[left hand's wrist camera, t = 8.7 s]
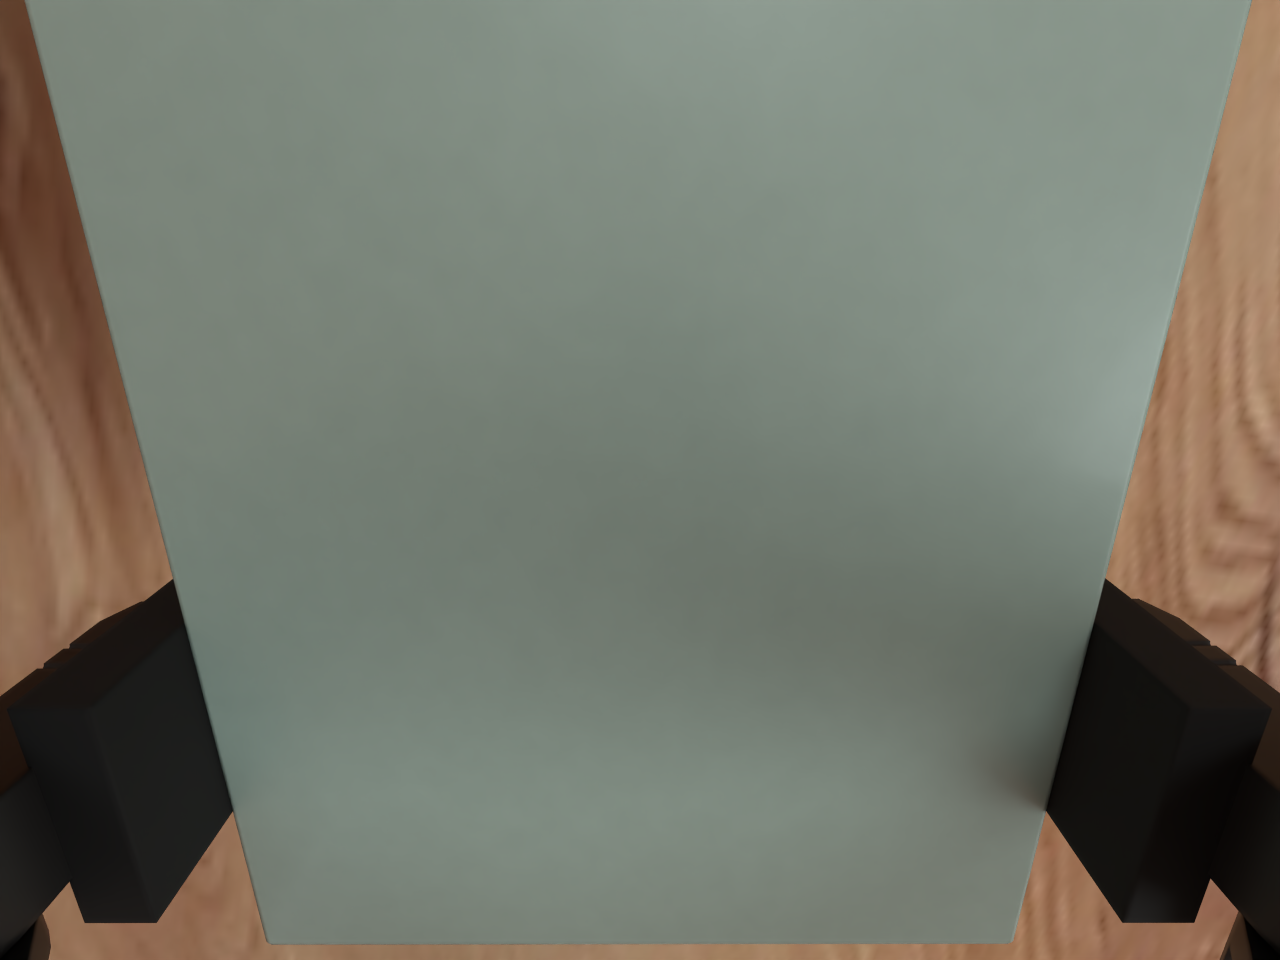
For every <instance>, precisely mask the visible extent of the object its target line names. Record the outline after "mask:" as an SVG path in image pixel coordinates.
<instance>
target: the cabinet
mask: <svg viewBox="0 0 1280 960" xmlns="http://www.w3.org/2000/svg"><path fill="white" fill-rule="evenodd" d="M1251 2H1252V0H25V4H26V8H27V12H28V16H29V20H30V24H31V27H32V31H33V35H34V39H35V43H36V47H37V51H38V55H39V59H40V62H41V66H42V70H43V74H44V78H45V82H46V86H47V90H48V94H49V97H50V101H51V105H52V109H53V113H54V117H55V121H56V125H57V129H58V132H59V136H60V140H61V144H62V148H63V152H64V156H65V160H66V164H67V167H68V171H69V175H70V179H71V183H72V187H73V191H74V195H75V199H76V202H77V206H78V210H79V214H80V218H81V222H82V226H83V230H84V234H85V237H86V241H87V245H88V249H89V253H90V257H91V261H92V265H93V269H94V272H95V276H96V280H97V284H98V288H99V292H100V296H101V300H102V304H103V307H104V311H105V315H106V319H107V323H108V327H109V331H110V335H111V339H112V342H113V346H114V350H115V354H116V358H117V362H118V366H119V370H120V374H121V377H122V381H123V385H124V389H125V393H126V397H127V401H128V405H129V409H130V412H131V416H132V420H133V424H134V428H135V432H136V436H137V440H138V444H139V447H140V451H141V455H142V459H143V463H144V467H145V471H146V475H147V479H148V482H149V486H150V490H151V494H152V498H153V502H154V506H155V510H156V514H157V517H158V521H159V525H160V529H161V533H162V537H163V541H164V545H165V549H166V552H167V556H168V560H169V564H170V568H171V572H172V576H173V580H174V584H175V587H176V591H177V595H178V599H179V603H180V607H181V611H182V615H183V619H184V622H185V626H186V630H187V634H188V638H189V642H190V646H191V650H192V654H193V657H194V661H195V665H196V669H197V673H198V677H199V681H200V685H201V689H202V692H203V696H204V700H205V704H206V708H207V712H208V716H209V720H210V724H211V727H212V731H213V735H214V739H215V743H216V747H217V751H218V755H219V759H220V762H221V766H222V770H223V774H224V778H225V782H226V786H227V790H228V794H229V797H230V801H231V805H232V809H233V813H234V817H235V821H236V825H237V829H238V832H239V836H240V840H241V844H242V848H243V852H244V856H245V860H246V864H247V867H248V871H249V875H250V879H251V883H252V887H253V891H254V895H255V899H256V902H257V906H258V910H259V914H260V918H261V922H262V926H263V930H264V934H265V938H266V941H267V942H268V943H269V944H272V945H301V944H1008V943H1011V942H1012V941H1013V939H1014V935H1015V931H1016V927H1017V923H1018V919H1019V915H1020V911H1021V907H1022V903H1023V899H1024V895H1025V891H1026V888H1027V884H1028V880H1029V876H1030V872H1031V868H1032V864H1033V860H1034V856H1035V852H1036V848H1037V844H1038V840H1039V836H1040V832H1041V828H1042V825H1043V821H1044V817H1045V813H1046V809H1047V805H1048V801H1049V797H1050V793H1051V789H1052V785H1053V781H1054V777H1055V773H1056V769H1057V765H1058V762H1059V758H1060V754H1061V750H1062V746H1063V742H1064V738H1065V734H1066V730H1067V726H1068V722H1069V718H1070V714H1071V710H1072V706H1073V702H1074V699H1075V695H1076V691H1077V687H1078V683H1079V679H1080V675H1081V671H1082V667H1083V663H1084V659H1085V655H1086V651H1087V647H1088V643H1089V639H1090V636H1091V632H1092V628H1093V624H1094V620H1095V616H1096V612H1097V608H1098V604H1099V600H1100V596H1101V592H1102V588H1103V584H1104V580H1105V576H1106V573H1107V569H1108V565H1109V561H1110V557H1111V553H1112V549H1113V545H1114V541H1115V537H1116V533H1117V529H1118V525H1119V521H1120V517H1121V513H1122V510H1123V506H1124V502H1125V498H1126V494H1127V490H1128V486H1129V482H1130V478H1131V474H1132V470H1133V466H1134V462H1135V458H1136V454H1137V450H1138V447H1139V443H1140V439H1141V435H1142V431H1143V427H1144V423H1145V419H1146V415H1147V411H1148V407H1149V403H1150V399H1151V395H1152V391H1153V387H1154V384H1155V380H1156V376H1157V372H1158V368H1159V364H1160V360H1161V356H1162V352H1163V348H1164V344H1165V340H1166V336H1167V332H1168V328H1169V324H1170V321H1171V317H1172V313H1173V309H1174V305H1175V301H1176V297H1177V293H1178V289H1179V285H1180V281H1181V277H1182V273H1183V269H1184V265H1185V261H1186V258H1187V254H1188V250H1189V246H1190V242H1191V238H1192V234H1193V230H1194V226H1195V222H1196V218H1197V214H1198V210H1199V206H1200V202H1201V198H1202V195H1203V191H1204V187H1205V183H1206V179H1207V175H1208V171H1209V167H1210V163H1211V159H1212V155H1213V151H1214V147H1215V143H1216V139H1217V135H1218V132H1219V128H1220V124H1221V120H1222V116H1223V112H1224V108H1225V104H1226V100H1227V96H1228V92H1229V88H1230V84H1231V80H1232V76H1233V72H1234V69H1235V65H1236V61H1237V57H1238V53H1239V49H1240V45H1241V41H1242V37H1243V33H1244V29H1245V25H1246V21H1247V17H1248V13H1249V9H1250V6H1251Z"/></svg>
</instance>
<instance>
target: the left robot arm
mask: <svg viewBox="0 0 1280 960" xmlns="http://www.w3.org/2000/svg"><path fill="white" fill-rule="evenodd" d="M1046 811H1047V813H1048V814H1049V816H1050V817H1051V819H1052V820H1053V822H1054V823H1055V824H1056V826H1057V827H1058V829H1059V830H1060V832H1061V833H1062V835H1063V836H1064V838H1065V839H1066V841H1067V842H1068V844H1069V845H1070V846H1071V848H1072V849H1073V851H1074V852H1075V854H1076V855H1077V857H1078V858H1079V860H1080V861H1081V863H1082V864H1083V866H1084V867H1085V868H1086V870H1087V871H1088V873H1089V874H1090V876H1091V877H1092V879H1093V880H1094V882H1095V883H1096V885H1097V886H1098V888H1099V889H1100V890H1101V892H1102V893H1103V895H1104V896H1105V898H1106V899H1107V901H1108V902H1109V904H1110V905H1111V907H1112V908H1113V910H1114V911H1115V912H1116V914H1117V915H1118V917H1119V918H1120V920H1121V921H1122V923H1194V922H1195V919H1196V916H1197V914H1198V911H1199V908H1200V905H1201V903H1202V900H1203V897H1204V895H1205V892H1206V889H1207V886H1208V884H1209V881H1210V878H1211V879H1212V880H1213V882H1214V883H1215V884H1216V885H1217V886H1218V887H1219V889H1220V890H1221V891H1222V892H1223V893H1224V894H1225V896H1226V897H1227V898H1228V899H1229V900H1230V901H1231V903H1232V904H1233V905H1234V906H1235V907H1236V908H1237V910H1238V911H1239V912H1238V914H1237V917H1236V919H1235V922H1234V924H1233V927H1232V930H1231V932H1230V935H1229V937H1228V940H1227V942H1226V945H1225V947H1224V950H1223V953H1222V955H1221V958H1220V960H1280V693H1279V692H1278V691H1276V690H1275V689H1274V688H1272V687H1271V686H1269V685H1268V684H1267V683H1265V682H1264V681H1263V680H1261V679H1260V678H1259V677H1257V676H1256V675H1255V674H1253V673H1252V672H1251V671H1249V670H1248V669H1247V668H1245V667H1244V666H1237V665H1236V660H1235V659H1233V658H1232V657H1231V656H1229V655H1228V654H1227V653H1225V652H1224V651H1223V650H1221V649H1220V648H1219V647H1217V646H1211V645H1210V641H1209V640H1208V639H1207V638H1205V637H1204V636H1202V635H1201V634H1200V633H1198V632H1197V631H1196V630H1194V629H1193V628H1192V627H1190V626H1189V625H1188V624H1186V623H1185V622H1184V621H1182V620H1181V619H1180V618H1178V617H1176V616H1174V615H1171V614H1169V613H1167V612H1165V611H1163V610H1161V609H1159V608H1157V607H1155V606H1153V605H1150V604H1148V603H1146V602H1144V601H1142V600H1140V599H1131V598H1130V597H1129V596H1127V595H1126V594H1125V593H1123V592H1122V591H1121V590H1120V589H1118V588H1117V587H1116V586H1114V585H1113V584H1112V583H1111V582H1109V581H1108V580H1107V579H1105V580H1104V584H1103V588H1102V592H1101V596H1100V600H1099V604H1098V608H1097V612H1096V616H1095V620H1094V624H1093V628H1092V632H1091V636H1090V639H1089V643H1088V647H1087V651H1086V655H1085V659H1084V663H1083V667H1082V671H1081V675H1080V679H1079V683H1078V687H1077V691H1076V695H1075V699H1074V702H1073V706H1072V710H1071V714H1070V718H1069V722H1068V726H1067V730H1066V734H1065V738H1064V742H1063V746H1062V750H1061V754H1060V758H1059V762H1058V765H1057V769H1056V773H1055V777H1054V781H1053V785H1052V789H1051V793H1050V797H1049V801H1048V805H1047V809H1046ZM232 812H233V809H232V805H231V801H230V797H229V794H228V790H227V786H226V782H225V778H224V774H223V770H222V766H221V762H220V759H219V755H218V751H217V747H216V743H215V739H214V735H213V731H212V727H211V724H210V720H209V716H208V712H207V708H206V704H205V700H204V696H203V692H202V689H201V685H200V681H199V677H198V673H197V669H196V665H195V661H194V657H193V654H192V650H191V646H190V642H189V638H188V634H187V630H186V626H185V622H184V619H183V615H182V611H181V607H180V603H179V599H178V595H177V591H176V587H175V584H174V580H173V579H172V580H171V581H170V582H169V583H167V584H166V585H165V586H163V587H162V588H161V589H160V590H158V591H157V592H156V593H154V594H153V595H152V596H151V597H149V598H148V599H147V600H145V601H144V602H139V603H137V604H135V605H133V606H131V607H129V608H127V609H125V610H122V611H120V612H118V613H116V614H114V615H112V616H110V617H108V618H106V619H104V620H102V621H100V622H98V623H97V624H96V625H94V626H93V627H92V628H90V629H89V630H88V631H87V632H85V633H84V634H83V635H81V636H80V637H79V638H77V639H76V640H75V641H73V642H72V643H71V644H70V647H69V649H63V650H61V651H60V652H59V653H57V654H56V655H55V656H53V657H52V658H51V659H49V660H48V661H47V662H45V663H44V667H43V669H36V670H35V671H33V672H32V673H31V674H29V675H28V676H27V677H25V678H24V679H23V680H21V681H20V682H19V683H17V684H16V685H15V686H13V687H12V688H11V689H9V690H8V691H7V692H5V693H4V694H3V695H1V696H0V960H48V959H49V954H50V949H51V944H50V936H49V930H48V927H47V924H46V922H45V919H44V917H43V914H42V913H43V912H44V911H45V909H46V908H47V907H48V906H49V905H50V904H51V902H52V901H53V900H54V899H55V898H56V897H57V895H58V894H59V893H60V892H61V891H62V890H63V888H64V887H65V886H66V885H67V884H68V883H69V881H70V884H71V887H72V889H73V892H74V895H75V898H76V900H77V903H78V906H79V909H80V911H81V914H82V917H83V920H84V922H85V923H157V921H158V920H159V919H160V917H161V916H162V914H163V913H164V911H165V910H166V908H167V907H168V905H169V904H170V902H171V901H172V899H173V898H174V897H175V895H176V894H177V892H178V891H179V889H180V888H181V886H182V885H183V883H184V882H185V880H186V879H187V877H188V876H189V875H190V873H191V872H192V870H193V869H194V867H195V866H196V864H197V863H198V861H199V860H200V858H201V857H202V855H203V854H204V853H205V851H206V850H207V848H208V847H209V845H210V844H211V842H212V841H213V839H214V838H215V836H216V835H217V834H218V832H219V831H220V829H221V828H222V826H223V825H224V823H225V822H226V820H227V819H228V817H229V816H230V814H231V813H232Z"/></svg>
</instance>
